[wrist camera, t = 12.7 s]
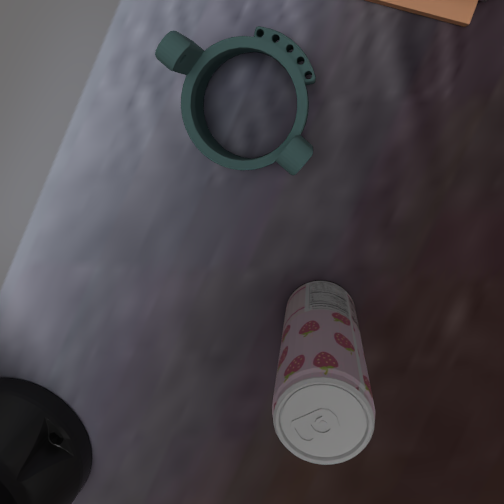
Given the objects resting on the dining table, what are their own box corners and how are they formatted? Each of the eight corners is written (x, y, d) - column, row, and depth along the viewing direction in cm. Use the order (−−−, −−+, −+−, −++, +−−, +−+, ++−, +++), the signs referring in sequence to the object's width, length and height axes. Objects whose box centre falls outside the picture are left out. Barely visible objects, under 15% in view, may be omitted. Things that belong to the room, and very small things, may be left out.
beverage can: (273, 318, 40) (249, 431, 26) (311, 266, 38) (309, 356, 24) (328, 354, 40) (335, 487, 26) (369, 304, 38) (401, 416, 24)
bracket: (312, 163, 36) (312, 177, 27) (194, 162, 37) (159, 175, 28) (316, 35, 33) (318, 7, 25) (190, 38, 35) (150, 12, 26)
